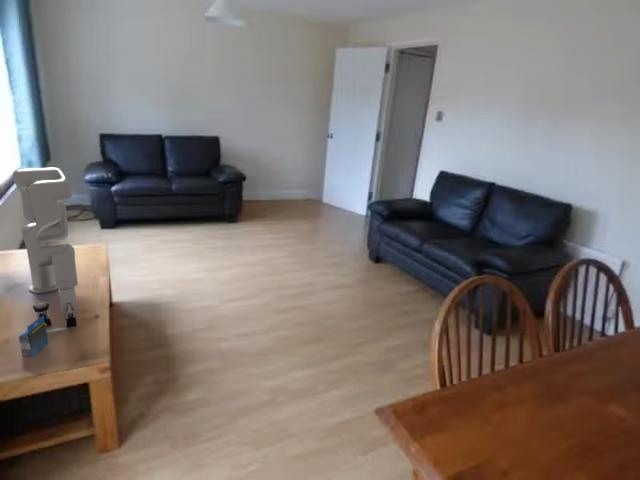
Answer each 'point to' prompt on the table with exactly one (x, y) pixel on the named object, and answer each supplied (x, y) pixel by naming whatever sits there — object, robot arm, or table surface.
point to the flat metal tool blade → (56, 329)
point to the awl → (76, 321)
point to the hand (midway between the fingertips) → (71, 320)
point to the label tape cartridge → (33, 338)
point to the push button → (42, 312)
